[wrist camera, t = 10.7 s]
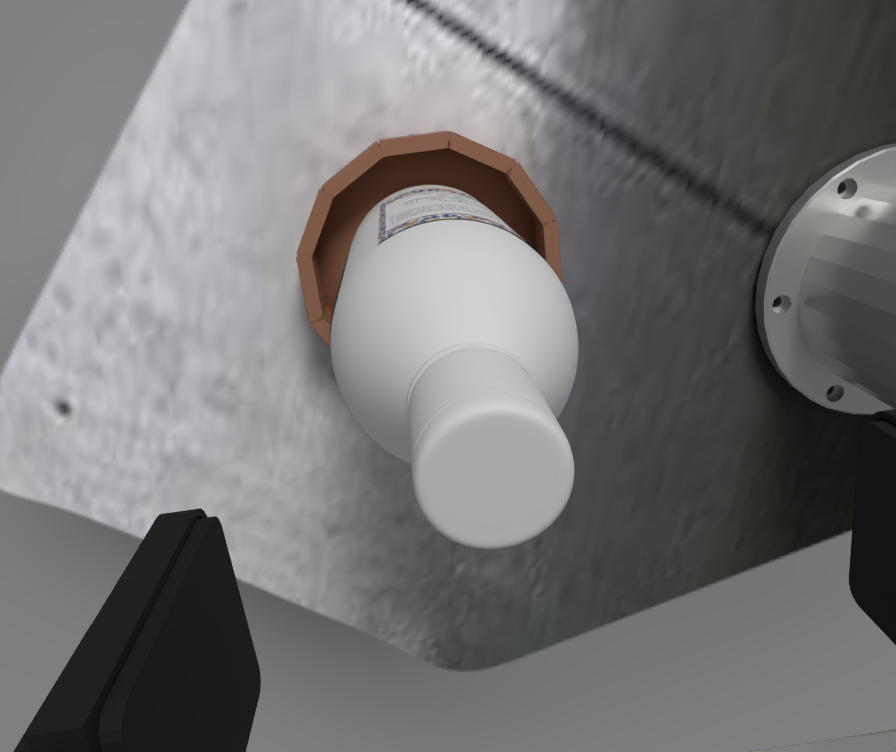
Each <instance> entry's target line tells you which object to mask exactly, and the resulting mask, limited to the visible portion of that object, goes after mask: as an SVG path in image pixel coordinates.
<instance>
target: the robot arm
mask: <svg viewBox="0 0 896 752" xmlns="http://www.w3.org/2000/svg"><path fill="white" fill-rule="evenodd" d="M839 184H840V187H839V190H838V191H837V189H838V186H839ZM776 298H777V299H776ZM775 299H776V302H775V303H774V304H773V302H774V300H775ZM755 311H756V319H757V327H758V333H759V336H760V339H761V342H762V345H763V347H764V350H765V353H766V355H767V357H768V358H769V360H770V361H771V363H772V365H773V366H774V368H775V369H776V371H777V373H778V374H779V375H780V376H781V377H782V378H783V379H784V380H785V381H786V382H787V383H788V384H789V385H790V386H791V387H792V388H794V389H795V390H797V391H799V392H800V393H802V394H803V395H804V396H806V397H807V398H809V399H810V400H812V401H814V402H816V403H818V404H820V405H822V406H824V407H826V408H829V409H832V410H836V411H840V412H845V413H849V414H861V415H872V417H871V418H870V420H869V423H865V424H864V425H863V426H862V427H861V429H860V433H859V443H858V457H857V471H856V485H855V500H854V514H853V528H852V542H851V558H850V571H849V584H850V590H851V593H852V595H853V598H854V599H855V601H856V603H857V604H858V605H859V607H860V608H861V609H862V610H863V611H864V612H865V613H866V614H867V615H868V616H869V617H870V618H871V619H872V620H873V621H874V623H875V624H876V625H877V626H878V627H879V628H880V629H881V630H882V631H883V632H884V633H885V634H886V635H887V636H888V637H889V638H890V639H891V641H892V642H893V643H894V644H895V645H896V143H895V144H888V145H883V146H880V147H878V148H875V149H872V150H869V151H866V152H863V153H860V154H858V155H856V156H854V157H852V158H850V159H849V160H847V161H845V162H843V163H841V164H839V165H838V166H836V167H834V168H833V169H831V170H830V171H829V172H827V173H826V174H825V175H824V176H822V177H821V178H820V179H819V180H817V181H816V182H815V183H814V184H812V185H811V186H810V187H809V188H808V189H807V190H806V191H805V192H804V194H803V195H802V196H801V197H800V198H799V199H798V200H797V201H796V202H795V203H794V205H793V206H792V207H791V208H790V209H789V211H788V212H787V214H786V215H785V217H784V218H783V220H782V222H781V223H780V225H779V226H778V228H777V229H776V231H775V232H774V235H773V237H772V239H771V241H770V244H769V246H768V248H767V250H766V253H765V255H764V257H763V261H762V265H761V269H760V273H759V277H758V281H757V289H756V304H755ZM260 684H261V682H260V670H259V665H258V661H257V657H256V653H255V649H254V646H253V642H252V638H251V635H250V631H249V627H248V623H247V620H246V616H245V612H244V608H243V604H242V601H241V597H240V593H239V589H238V586H237V582H236V578H235V574H234V570H233V567H232V563H231V559H230V555H229V552H228V548H227V544H226V540H225V536H224V533H223V529H222V526H221V523H220V521H219V519H218V518H217V517H216V516H215V517H208V518H207V515H206V514H205V512H204V511H203V510H202V509H194V510H187V511H180V512H173V513H166V514H160V515H159V516H158V517H157V518H156V520H155V521H154V523H153V525H152V526H151V528H150V530H149V531H148V533H147V534H146V536H145V538H144V539H143V541H142V543H141V544H140V546H139V548H138V549H137V551H136V553H135V554H134V556H133V558H132V559H131V561H130V562H129V564H128V566H127V567H126V569H125V571H124V572H123V574H122V576H121V577H120V579H119V580H118V582H117V584H116V585H115V587H114V589H113V590H112V592H111V594H110V595H109V597H108V599H107V600H106V602H105V603H104V605H103V607H102V608H101V610H100V612H99V613H98V615H97V616H96V618H95V620H94V621H93V623H92V624H91V626H90V627H89V629H88V631H87V632H86V634H85V635H84V637H83V639H82V640H81V642H80V644H79V645H78V647H77V648H76V650H75V652H74V653H73V655H72V657H71V658H70V660H69V662H68V663H67V665H66V667H65V668H64V670H63V671H62V673H61V675H60V676H59V678H58V680H57V681H56V683H55V685H54V686H53V688H52V689H51V691H50V693H49V694H48V696H47V698H46V699H45V701H44V702H43V704H42V706H41V707H40V709H39V711H38V712H37V714H36V716H35V717H34V719H33V721H32V722H31V724H30V725H29V727H28V729H27V730H26V732H25V734H24V735H23V737H22V739H21V741H20V742H19V743H18V745H17V747H16V749H15V750H14V752H246V748H247V744H248V740H249V736H250V732H251V727H252V723H253V719H254V715H255V711H256V707H257V703H258V699H259V694H260ZM751 752H896V730H889V731H883V732H876V733H870V734H863V735H857V736H851V737H844V738H837V739H830V740H824V741H817V742H811V743H805V744H798V745H791V746H784V747H778V748H771V749H765V750H758V751H751Z"/></svg>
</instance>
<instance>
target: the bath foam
mask: <svg viewBox="0 0 896 752" xmlns="http://www.w3.org/2000/svg"><path fill="white" fill-rule="evenodd" d="M348 252H349V255H347V257H348V259H346V263H345V266H344V270H343V274H342V278H341V281H340V285H339V289H338V292H337V296H336V300H335V304H334V308H333V313H332V318H331V325H330V353H331V360H332V366H333V371H334V375H335V378H336V382H337V385H338V388H339V391H340V393H341V395H342V397H343V400H344V402H345V404H346V406H347V408H348V409H349V411H350V413H351V414H352V416H353V417H354V419H355V420H356V421H357V423H358V424H359V425H360V427H361V428H362V429H363V430H364V431H365V433H366V434H367V435H368V436H369V437H370V438H371V439H372V440H374V441H375V442H376V443H377V444H378V445H379V446H381V447H382V448H383V449H385V450H386V451H387V452H389V453H390V454H392V455H393V456H395V457H397V458H399V459H401V460H403V461H405V462H407V463H409V464H411V473H412V483H413V489H414V494H415V497H416V500H417V503H418V505H419V507H420V509H421V511H422V513H423V514H424V516H425V517H426V519H427V520H428V521H429V522H430V524H431V525H432V526H433V527H434V528H435V529H436V530H438V531H439V532H440V533H441V534H443V535H444V536H445V537H447V538H449V539H451V540H452V541H455V542H457V543H459V544H462V545H465V546H469V547H473V548H480V549H499V548H506V547H510V546H514V545H517V544H520V543H523V542H525V541H527V540H530V539H531V538H533V537H535V536H537V535H538V534H540V533H541V532H543V531H544V530H545V529H546V528H547V527H549V526H550V525H551V524H552V523H553V522H554V521H555V520H556V518H557V517H558V516H559V515H560V513H561V512H562V510H563V509H564V507H565V505H566V503H567V501H568V499H569V496H570V494H571V490H572V486H573V480H574V461H573V455H572V451H571V448H570V445H569V443H568V440H567V438H566V436H565V434H564V432H563V430H562V429H561V427H560V425H559V423H558V422H557V419H558V417H559V415H560V414H561V412H562V410H563V409H564V407H565V405H566V402H567V400H568V398H569V395H570V393H571V390H572V386H573V383H574V379H575V375H576V370H577V363H578V334H577V327H576V322H575V317H574V313H573V309H572V306H571V303H570V301H569V298H568V296H567V293H566V291H565V289H564V287H563V284H562V282H561V281H560V279H559V277H558V275H557V274H556V272H555V271H554V269H553V268H552V267H551V266H550V264H549V263H548V262H547V261H546V260H545V259H544V258H543V257H542V256H541V255H540V254H539V253H538V252H537V251H536V250H535V249H534V248H533V247H532V246H531V245H529V244H528V243H527V242H526V241H525V240H524V239H523V238H521V237H520V236H519V235H518V234H517V233H516V232H515V231H513V230H512V229H511V228H510V227H509V226H508V225H507V224H505V223H504V222H503V221H502V220H501V219H500V218H499V217H497V216H496V215H495V214H494V213H493V212H492V211H491V210H489V209H488V208H487V207H486V206H485V205H483V204H482V203H481V202H479V201H478V200H476V199H475V198H474V197H472V196H470V195H469V194H467V193H465V192H463V191H461V190H458V189H455V188H452V187H447V186H442V185H419V186H413V187H409V188H405V189H403V190H400V191H398V192H395V193H393V194H391V195H390V196H388V197H386V198H385V199H383V200H382V201H381V202H379V203H378V204H377V205H376V206H375V207H374V208H373V209H372V210H371V211H370V212H369V213H368V214H367V215H366V217H365V218H364V219H363V221H362V222H361V224H360V225H359V227H358V229H357V231H356V233H355V235H354V238H353V241H352V244H351V247H350V251H348Z"/></svg>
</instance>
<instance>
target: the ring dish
mask: <svg viewBox="0 0 896 752" xmlns="http://www.w3.org/2000/svg"><path fill="white" fill-rule="evenodd" d="M419 185H442V186H447V187H452V188H455V189H458V190H461V191H463V192H465V193H467V194H469V195H470V196H472V197H474V198H475V199H476V200H478V201H479V202H481V203H482V204H483V205H485V206H486V207H487V208H488V209H489V210H491V211H492V212H493V213H494V214H495V215H496V216H497V217H499V218H500V219H501V220H502V221H503V222H504V223H505V224H507V225H508V226H509V227H510V228H511V229H512V230H513V231H515V232H516V233H517V234H518V235H519V236H520V237H521V238H523V239H524V240H525V241H526V242H527V243H528V244H529V245H531V246H532V247H533V248H534V249H535V250H536V251H537V252H538V253H539V254H540V255H541V256H542V257H543V258H544V259H545V260H546V261H547V262H548V263H549V264H550V266H551V267H552V268H553V269H554V271H555V272H556V274H557V275H558V277H559V279H560V281H561V282H562V271H561V258H560V244H559V230H558V221H557V220H556V219H555V218H557V217H556V216H555V214H554V213H553V212H552V210H551V209H550V207H549V206H548V204H547V203H546V201H545V200H544V199H543V197H542V196H541V194H540V193H539V191H538V190H537V188H536V187H535V186H534V184H533V183H532V181H531V180H530V178H529V177H528V175H527V174H526V173H525V171H524V170H523V168H522V167H521V165H520V164H519V162H516V161H515V159H512V158H510V157H508V156H506V155H503V154H501V153H499V152H497V151H494V150H492V149H490V148H488V147H485V146H483V145H481V144H479V143H476V142H474V141H472V140H470V139H467V138H465V137H463V136H460V135H458V134H456V133H454V132H450V131H438V132H431V133H424V134H416V135H408V136H401V137H394V138H387V139H379V144H378V142H377V141H375V142H374V143H373V144H372V145H371V146H369V147H368V148H367V149H366V150H364V151H363V152H362V153H361V154H360V155H358V156H357V157H356V158H355V159H353V160H352V161H351V162H350V163H348V164H347V165H346V166H345V167H344V168H342V169H341V170H340V171H339V172H337V173H336V174H335V175H334V176H333V177H331V178H330V179H329V180H328V181H326V182H325V183H324V184H323V185H322V186H321V188H320V189H319V192H318V195H317V197H316V200H315V203H314V206H313V209H312V211H311V214H310V217H309V220H308V223H307V226H306V228H305V231H304V234H303V237H302V240H301V242H300V245H299V248H298V251H297V254H298V255H297V257H296V259H297V264H298V269H299V274H300V279H301V284H302V289H303V294H304V299H305V304H306V309H307V314H308V320H309V322H311V326H312V327H313V329H314V330H315V331H316V332H317V333H318V334H319V335H320V337H321V338H322V339H323V340H324V341H325V342H326V343H327V345H328V346H329V347H330V325H331V318H332V313H333V308H334V304H335V300H336V296H337V292H338V289H339V285H340V281H341V278H342V274H343V270H344V266H345V263H346V259H348V257H347V255H349V252H348V251H350V247H351V244H352V241H353V238H354V235H355V233H356V231H357V229H358V227H359V225H360V224H361V222H362V221H363V219H364V218H365V217H366V215H367V214H368V213H369V212H370V211H371V210H372V209H373V208H374V207H375V206H376V205H377V204H378V203H379V202H381V201H382V200H383V199H385V198H386V197H388V196H390V195H391V194H393V193H395V192H398V191H400V190H403V189H405V188H409V187H413V186H419Z"/></svg>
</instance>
